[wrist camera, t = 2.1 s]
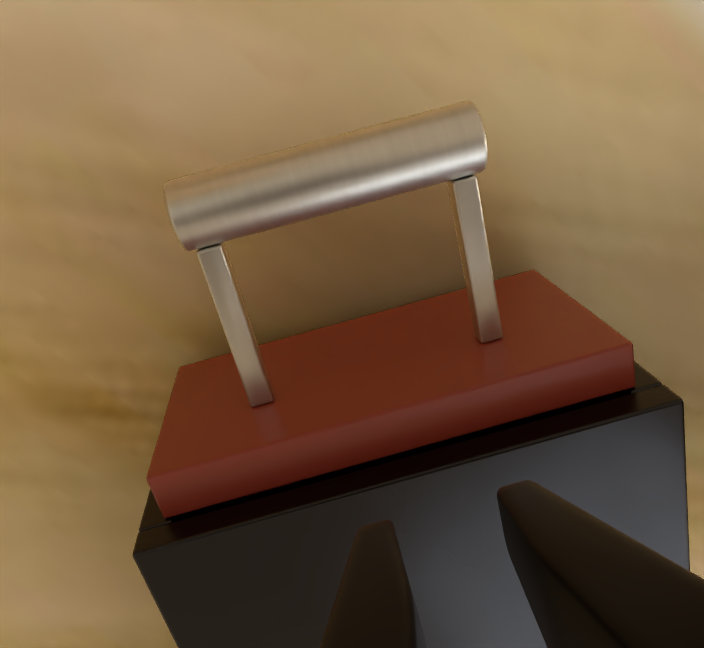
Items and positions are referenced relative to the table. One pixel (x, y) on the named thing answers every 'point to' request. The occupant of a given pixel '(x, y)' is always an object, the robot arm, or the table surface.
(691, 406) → the table surface
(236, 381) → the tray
